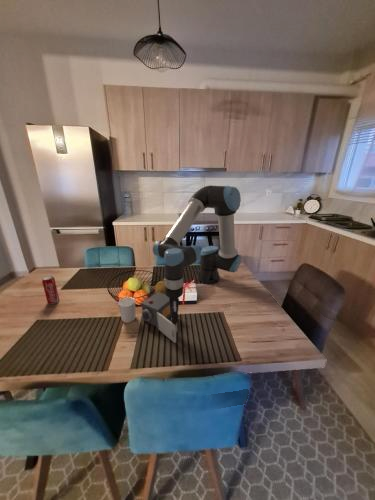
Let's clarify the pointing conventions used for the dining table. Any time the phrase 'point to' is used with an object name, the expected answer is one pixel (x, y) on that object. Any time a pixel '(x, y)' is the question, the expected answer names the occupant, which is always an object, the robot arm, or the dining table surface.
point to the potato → (160, 287)
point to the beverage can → (50, 289)
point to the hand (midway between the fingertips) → (174, 330)
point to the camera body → (156, 308)
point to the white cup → (127, 309)
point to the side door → (166, 327)
